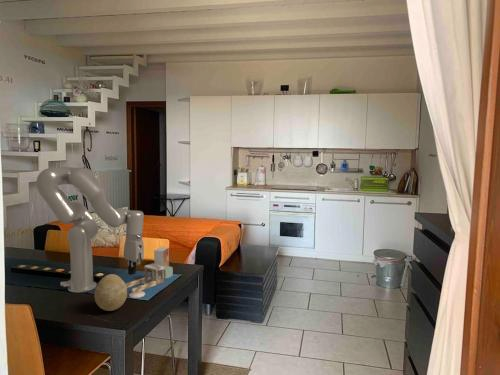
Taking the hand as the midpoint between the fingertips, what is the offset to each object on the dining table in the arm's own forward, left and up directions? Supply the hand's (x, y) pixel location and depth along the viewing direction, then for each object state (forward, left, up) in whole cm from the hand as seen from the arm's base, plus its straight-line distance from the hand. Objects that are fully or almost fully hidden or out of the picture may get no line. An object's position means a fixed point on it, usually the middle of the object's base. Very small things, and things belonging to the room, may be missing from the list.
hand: (131, 273), depth 173 cm
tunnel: (+5, +1, -7) cm, 9 cm away
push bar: (+11, +6, -8) cm, 14 cm away
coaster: (+1, -10, -7) cm, 12 cm away
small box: (+21, +26, -7) cm, 34 cm away
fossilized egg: (-12, -21, -7) cm, 25 cm away
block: (+19, +9, -7) cm, 22 cm away
